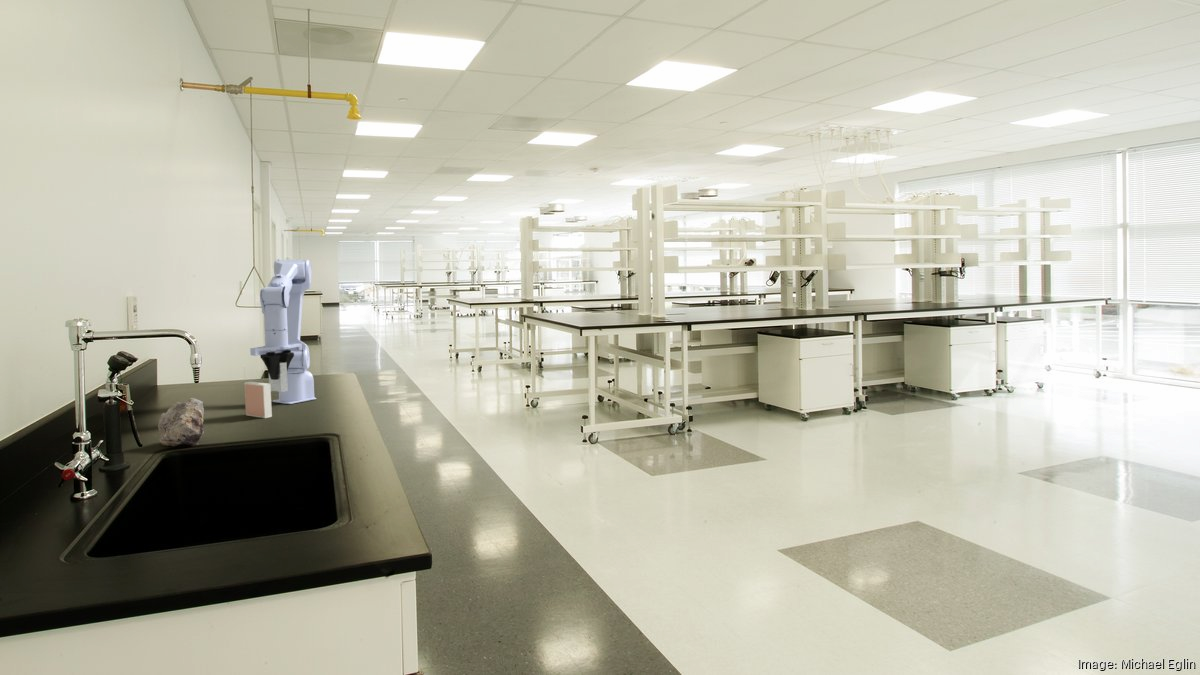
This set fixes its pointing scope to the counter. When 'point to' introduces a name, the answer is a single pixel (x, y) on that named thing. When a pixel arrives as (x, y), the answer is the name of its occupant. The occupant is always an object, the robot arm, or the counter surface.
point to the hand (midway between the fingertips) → (278, 378)
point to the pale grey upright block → (280, 379)
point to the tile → (258, 399)
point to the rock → (182, 423)
